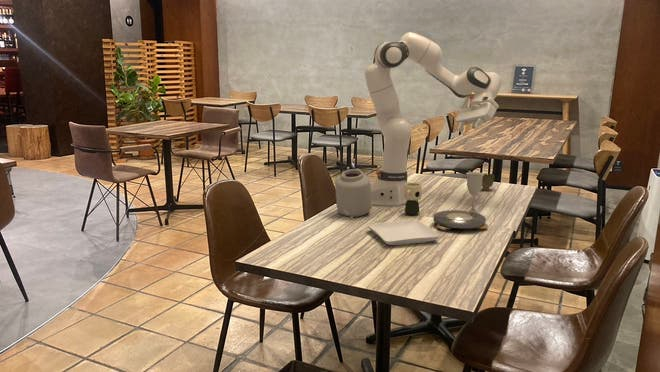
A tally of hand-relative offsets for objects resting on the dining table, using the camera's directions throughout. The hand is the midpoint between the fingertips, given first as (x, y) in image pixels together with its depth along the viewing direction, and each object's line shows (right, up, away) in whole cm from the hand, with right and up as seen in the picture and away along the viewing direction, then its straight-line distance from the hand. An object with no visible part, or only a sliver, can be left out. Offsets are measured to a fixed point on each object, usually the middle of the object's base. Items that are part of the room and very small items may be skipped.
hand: (467, 129), depth 241 cm
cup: (+18, -27, +36) cm, 49 cm away
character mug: (-25, -37, -6) cm, 45 cm away
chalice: (0, -37, -8) cm, 38 cm away
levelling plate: (-9, -40, -22) cm, 47 cm away
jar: (-50, -37, -7) cm, 63 cm away
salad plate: (-33, -44, -35) cm, 65 cm away
